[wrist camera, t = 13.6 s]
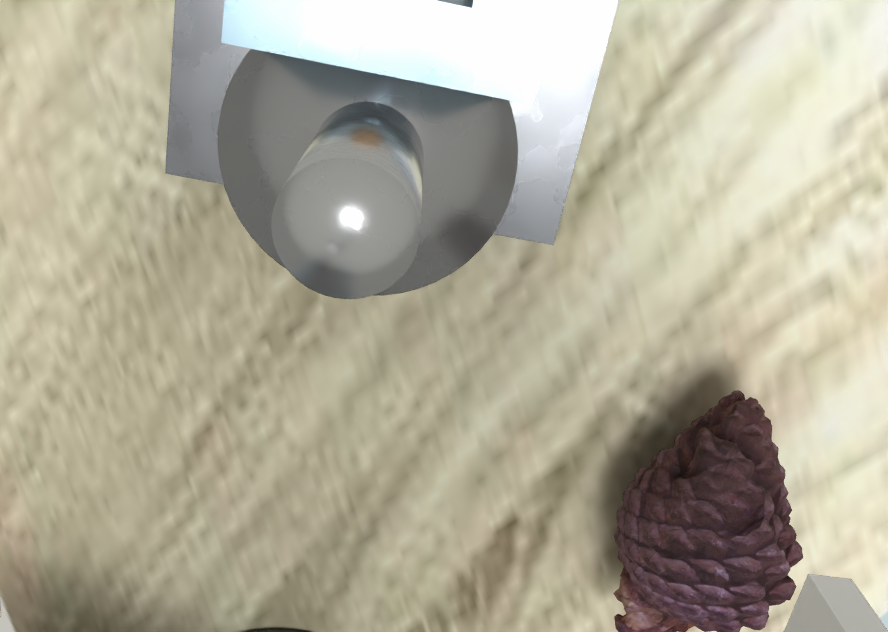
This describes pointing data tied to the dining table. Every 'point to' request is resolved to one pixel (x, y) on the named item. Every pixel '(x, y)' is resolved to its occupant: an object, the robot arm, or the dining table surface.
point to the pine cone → (708, 528)
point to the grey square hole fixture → (384, 126)
